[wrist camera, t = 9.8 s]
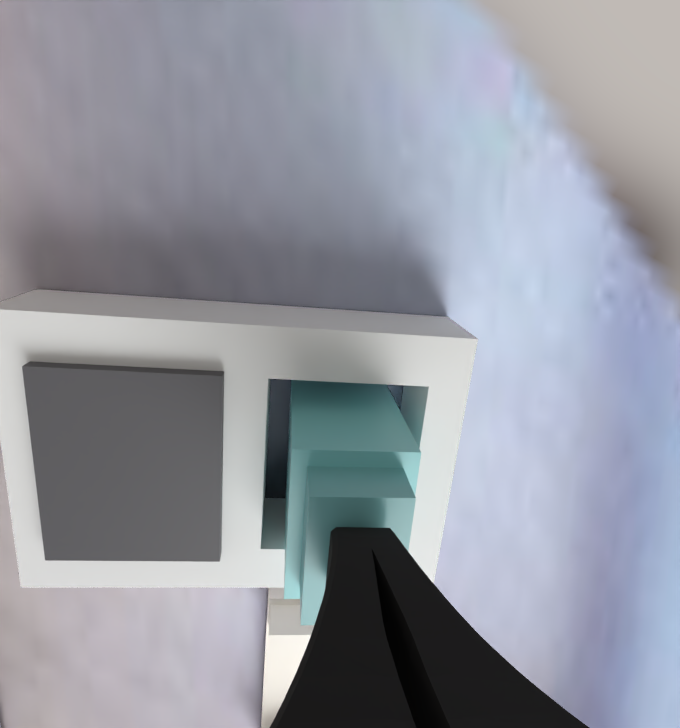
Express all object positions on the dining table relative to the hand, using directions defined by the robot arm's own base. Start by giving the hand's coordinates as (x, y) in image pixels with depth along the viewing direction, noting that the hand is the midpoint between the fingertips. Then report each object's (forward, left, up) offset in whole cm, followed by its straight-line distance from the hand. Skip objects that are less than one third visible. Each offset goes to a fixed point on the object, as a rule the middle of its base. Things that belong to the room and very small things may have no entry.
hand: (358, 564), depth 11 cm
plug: (0, 0, -7) cm, 7 cm away
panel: (-3, 0, -7) cm, 7 cm away
